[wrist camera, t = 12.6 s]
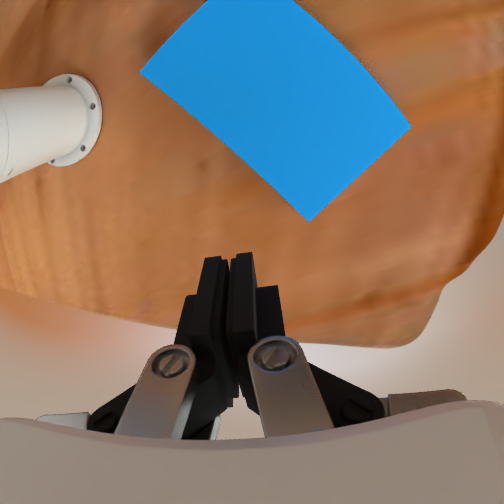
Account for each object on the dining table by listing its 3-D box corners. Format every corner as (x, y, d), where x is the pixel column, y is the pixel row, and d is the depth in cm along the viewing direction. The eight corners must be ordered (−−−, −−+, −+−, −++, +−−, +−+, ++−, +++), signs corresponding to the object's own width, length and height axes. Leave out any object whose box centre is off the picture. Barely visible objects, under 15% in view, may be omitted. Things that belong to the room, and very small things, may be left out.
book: (309, 223, 33) (136, 74, 25) (304, 209, 37) (149, 76, 29) (416, 122, 27) (249, -37, 19) (399, 119, 31) (250, -23, 23)
